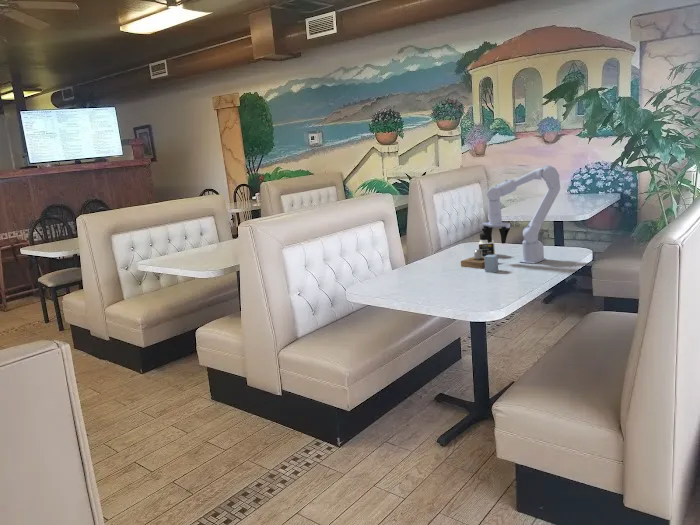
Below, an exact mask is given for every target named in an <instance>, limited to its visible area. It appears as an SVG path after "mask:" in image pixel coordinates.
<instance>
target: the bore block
mask: <svg viewBox="0 0 700 525" xmlns="http://www.w3.org/2000/svg"><path fill="white" fill-rule="evenodd" d="M482 257H483V260H478V261H476V260H475V255H474V256H472V257H469V258H465V259H462V260H460V266H461V267H464V268H473V269H485V261H484V257H485V256H482Z"/></svg>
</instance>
